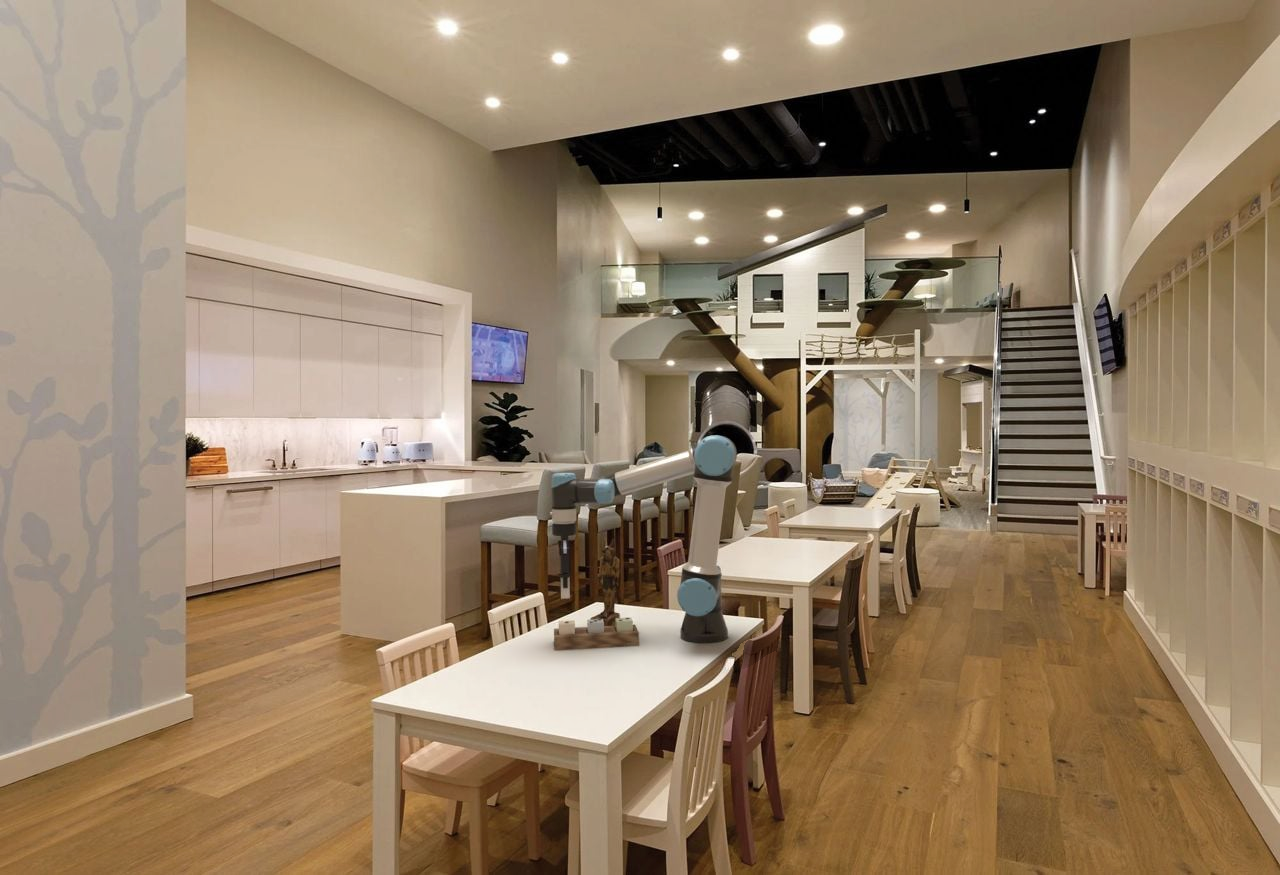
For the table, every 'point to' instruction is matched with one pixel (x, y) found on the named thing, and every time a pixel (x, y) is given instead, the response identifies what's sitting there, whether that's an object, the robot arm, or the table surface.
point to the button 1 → (566, 627)
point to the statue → (608, 583)
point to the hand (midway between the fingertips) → (565, 597)
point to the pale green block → (624, 624)
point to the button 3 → (595, 626)
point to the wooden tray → (595, 638)
